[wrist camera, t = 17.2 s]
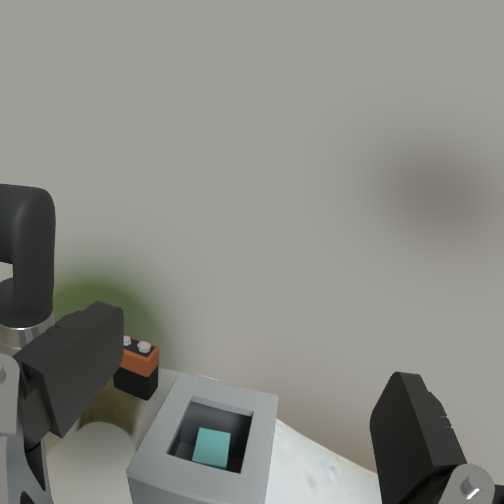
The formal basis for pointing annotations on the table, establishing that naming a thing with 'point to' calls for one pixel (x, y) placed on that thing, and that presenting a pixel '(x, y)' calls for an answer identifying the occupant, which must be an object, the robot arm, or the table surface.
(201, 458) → the teal rectangular block
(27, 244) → the robot arm
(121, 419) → the table surface
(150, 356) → the battery
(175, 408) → the slot box
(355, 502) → the table surface
